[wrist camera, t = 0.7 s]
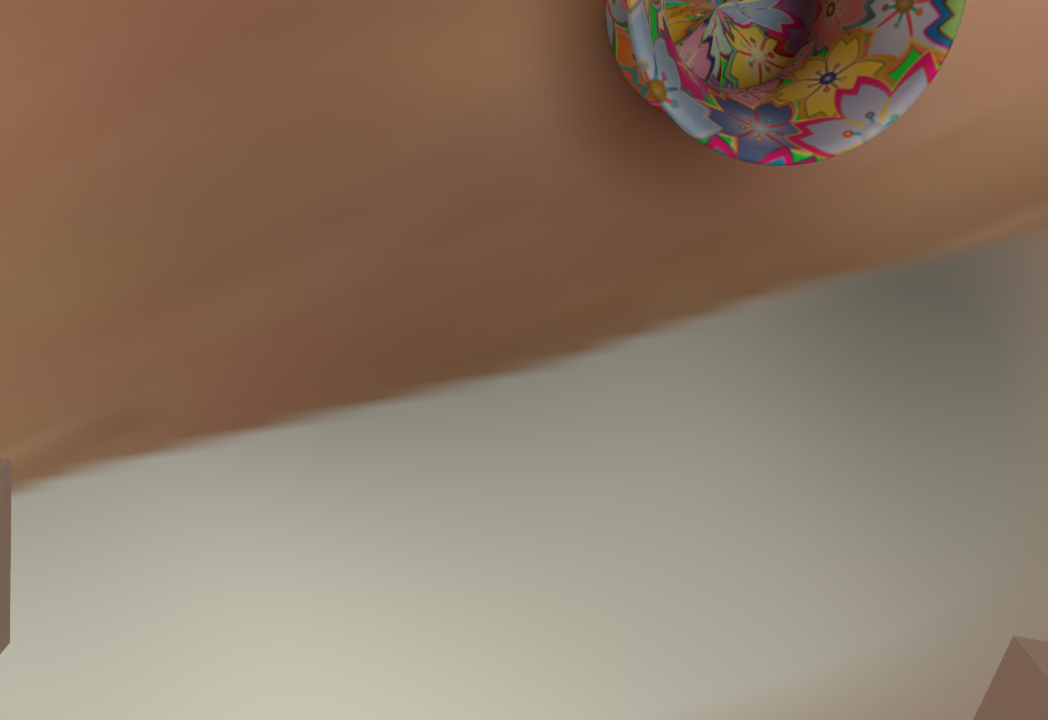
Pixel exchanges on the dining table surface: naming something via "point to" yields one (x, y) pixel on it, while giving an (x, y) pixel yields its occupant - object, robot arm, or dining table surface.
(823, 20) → the mug
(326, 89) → the dining table surface
